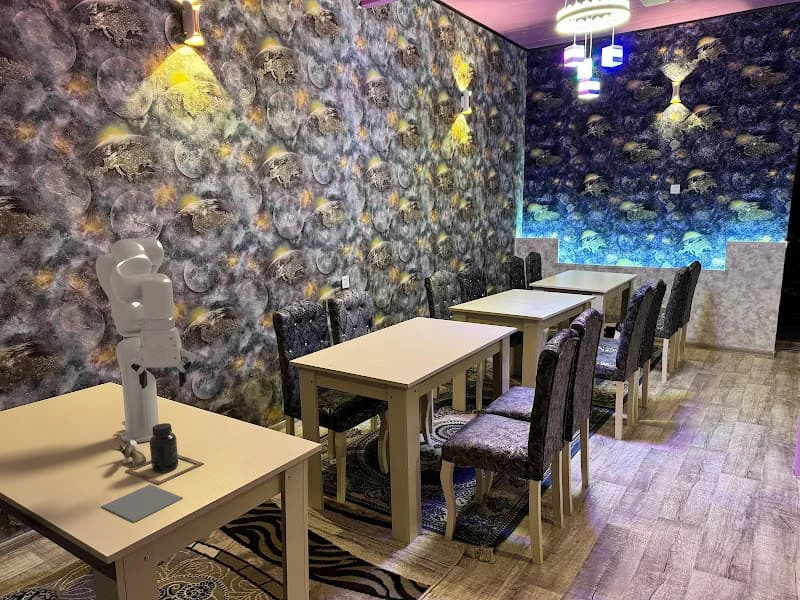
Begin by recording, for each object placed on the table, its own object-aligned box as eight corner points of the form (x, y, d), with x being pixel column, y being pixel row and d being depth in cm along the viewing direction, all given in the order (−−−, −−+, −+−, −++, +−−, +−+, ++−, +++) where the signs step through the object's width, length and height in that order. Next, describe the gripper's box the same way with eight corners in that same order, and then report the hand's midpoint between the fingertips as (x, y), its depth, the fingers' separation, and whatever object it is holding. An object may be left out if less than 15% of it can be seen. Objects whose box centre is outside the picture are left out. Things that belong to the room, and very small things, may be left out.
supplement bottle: (170, 460, 164) (167, 419, 162) (183, 466, 160) (180, 425, 158) (146, 468, 159) (143, 426, 157) (159, 475, 155) (156, 432, 153)
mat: (101, 507, 139) (101, 506, 138) (150, 485, 149) (150, 484, 149) (134, 522, 132) (134, 521, 132) (182, 498, 143) (182, 497, 143)
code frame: (125, 471, 157) (125, 470, 157) (171, 452, 169) (170, 451, 169) (158, 485, 150) (158, 483, 150) (204, 464, 162) (203, 463, 162)
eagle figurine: (105, 460, 161) (120, 462, 156) (115, 435, 164) (130, 436, 158) (131, 467, 166) (146, 469, 161) (140, 442, 169) (155, 443, 163)
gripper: (120, 328, 148) (125, 392, 151) (190, 326, 150) (194, 389, 153) (129, 322, 155) (133, 383, 158) (196, 320, 158) (199, 380, 161)
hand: (163, 386), depth 156 cm, fingers open, 9 cm apart
